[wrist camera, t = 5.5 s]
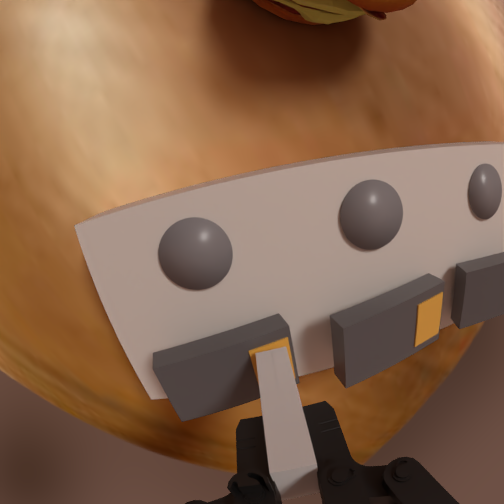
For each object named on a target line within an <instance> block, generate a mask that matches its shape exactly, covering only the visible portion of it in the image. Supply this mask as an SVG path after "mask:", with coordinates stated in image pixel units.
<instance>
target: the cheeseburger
mask: <svg viewBox="0 0 504 504" xmlns="http://www.w3.org/2000/svg"><path fill="white" fill-rule="evenodd" d="M253 1H254V2H255V3H256V4H257V5H258V6H260V7H262V8H264V9H266V10H268V11H270V12H272V13H273V14H275V15H277V16H279V17H281V18H283V19H285V20H290V21H295V22H300V23H305V24H310V25H318V24H331V23H335V22H341V21H346V20H350V19H353V18H356V17H358V16H360V15H365V14H367V15H369V16H371V17H373V18H375V19H378V20H384V19H386V15H385V13H388V12H393V11H398V10H403V9H405V8H407V7H408V6H410V5H412V4H414V3H415V1H416V0H253Z"/></svg>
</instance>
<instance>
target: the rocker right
mask: <svg viewBox="0 0 504 504" xmlns="http://www.w3.org/2000/svg"><path fill="white" fill-rule="evenodd" d="M502 314H504V252H501V253H497V254H493V255H489V256H486V257H482V258H477V259H473V260H469V261H465V262H461V263H457V264H456V270H455V283H454V294H453V303H452V311H451V319H452V321H453V322H454V323H455V324H456V326H457V327H458V328H459V329H461V328H464V327H467V326H470V325H473V324H476V323H479V322H482V321H485V320H488V319H490V318H494V317H496V316H499V315H502Z"/></svg>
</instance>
